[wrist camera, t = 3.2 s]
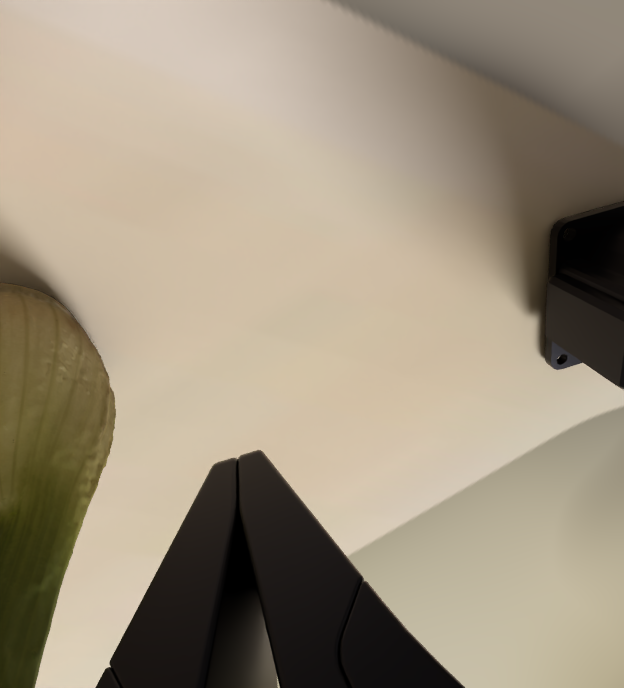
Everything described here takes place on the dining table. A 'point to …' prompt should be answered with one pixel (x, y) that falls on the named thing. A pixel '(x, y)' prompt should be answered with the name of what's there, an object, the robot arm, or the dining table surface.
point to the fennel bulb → (43, 464)
